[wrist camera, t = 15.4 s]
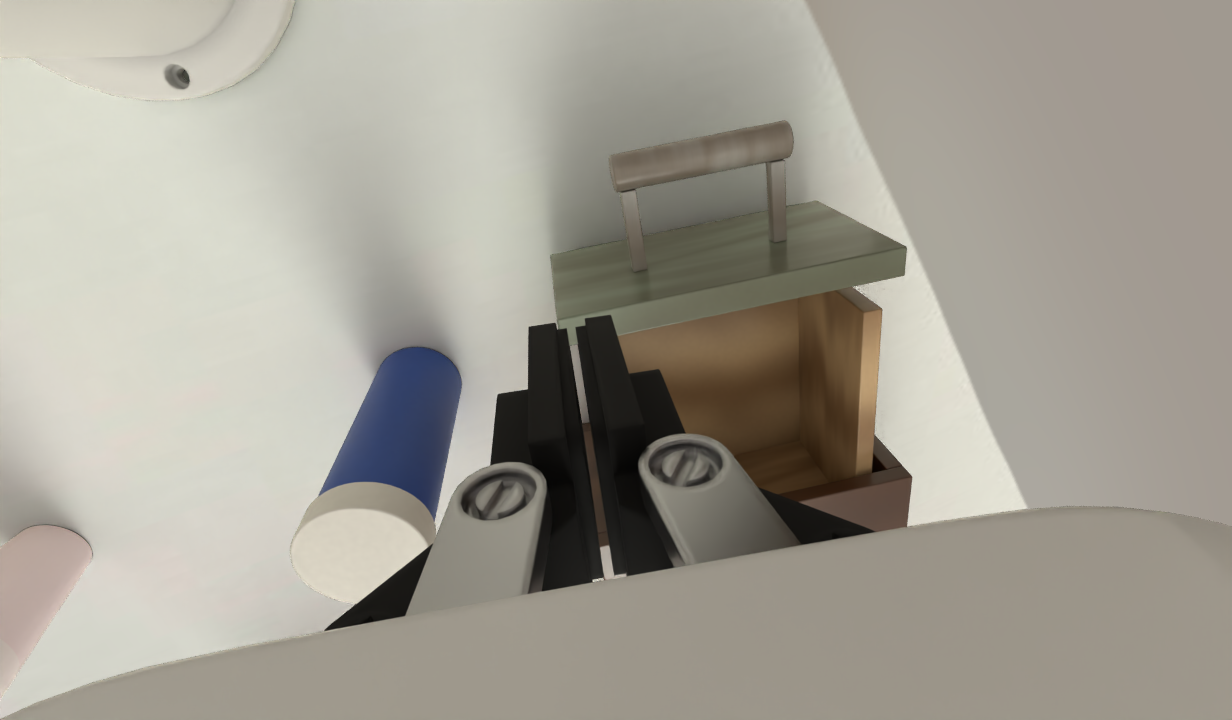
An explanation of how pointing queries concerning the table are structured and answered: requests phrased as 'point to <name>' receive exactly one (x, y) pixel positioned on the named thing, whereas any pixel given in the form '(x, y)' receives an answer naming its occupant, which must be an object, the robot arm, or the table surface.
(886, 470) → the cabinet
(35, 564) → the smoothie
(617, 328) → the drawer
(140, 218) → the table surface
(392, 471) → the pill bottle
